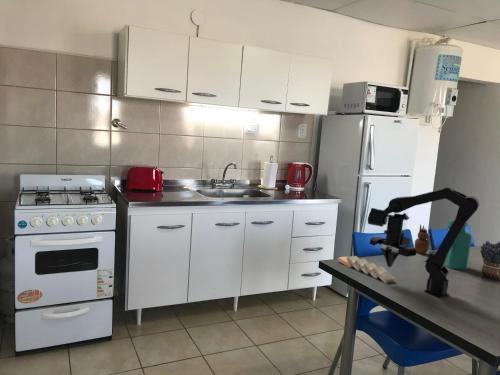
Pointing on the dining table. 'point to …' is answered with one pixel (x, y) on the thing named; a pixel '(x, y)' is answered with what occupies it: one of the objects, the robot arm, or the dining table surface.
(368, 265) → the domino
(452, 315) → the dining table surface
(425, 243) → the wooden figurine
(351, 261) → the domino
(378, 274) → the domino
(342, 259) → the domino
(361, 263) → the domino
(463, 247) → the teal tall bottle
